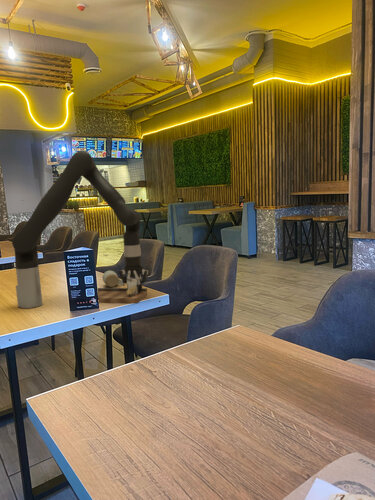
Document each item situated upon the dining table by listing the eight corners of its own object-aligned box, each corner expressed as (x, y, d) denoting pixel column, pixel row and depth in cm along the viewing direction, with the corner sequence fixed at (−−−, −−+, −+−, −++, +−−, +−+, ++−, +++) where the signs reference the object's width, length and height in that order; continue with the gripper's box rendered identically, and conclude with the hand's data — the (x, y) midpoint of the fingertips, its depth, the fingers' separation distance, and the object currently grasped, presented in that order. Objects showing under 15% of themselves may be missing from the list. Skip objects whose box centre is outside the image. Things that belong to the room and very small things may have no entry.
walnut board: (85, 302, 170) (85, 295, 170) (99, 294, 184) (99, 287, 183) (137, 303, 165) (136, 296, 164) (147, 294, 178) (147, 288, 178)
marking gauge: (124, 297, 167) (123, 284, 167) (133, 291, 178) (132, 278, 177) (133, 297, 167) (132, 284, 166) (141, 291, 177) (140, 278, 176)
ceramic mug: (105, 288, 195) (104, 273, 194) (103, 285, 203) (102, 271, 202) (126, 286, 199) (125, 271, 198) (122, 283, 206) (122, 269, 205)
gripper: (150, 253, 174) (152, 290, 176) (120, 253, 177) (123, 290, 179) (144, 256, 167) (147, 294, 169) (114, 256, 170) (117, 294, 172)
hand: (135, 292), depth 174 cm, fingers closed on marking gauge, 4 cm apart
